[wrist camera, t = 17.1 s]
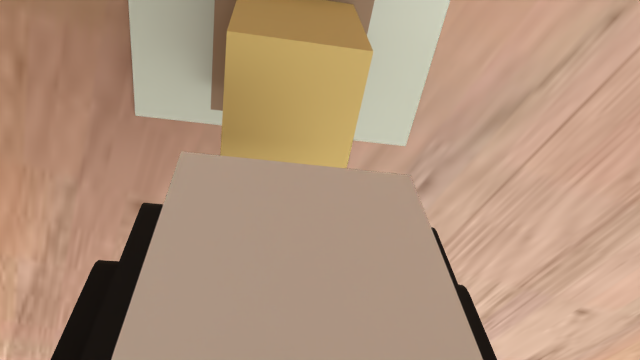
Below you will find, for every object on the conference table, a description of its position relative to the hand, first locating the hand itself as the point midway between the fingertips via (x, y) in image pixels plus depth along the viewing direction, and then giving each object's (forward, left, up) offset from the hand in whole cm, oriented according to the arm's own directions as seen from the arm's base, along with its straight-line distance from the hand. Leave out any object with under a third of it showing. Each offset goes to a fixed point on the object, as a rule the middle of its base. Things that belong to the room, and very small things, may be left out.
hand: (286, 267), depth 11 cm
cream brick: (0, 0, -1) cm, 1 cm away
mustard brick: (0, 0, -14) cm, 14 cm away
